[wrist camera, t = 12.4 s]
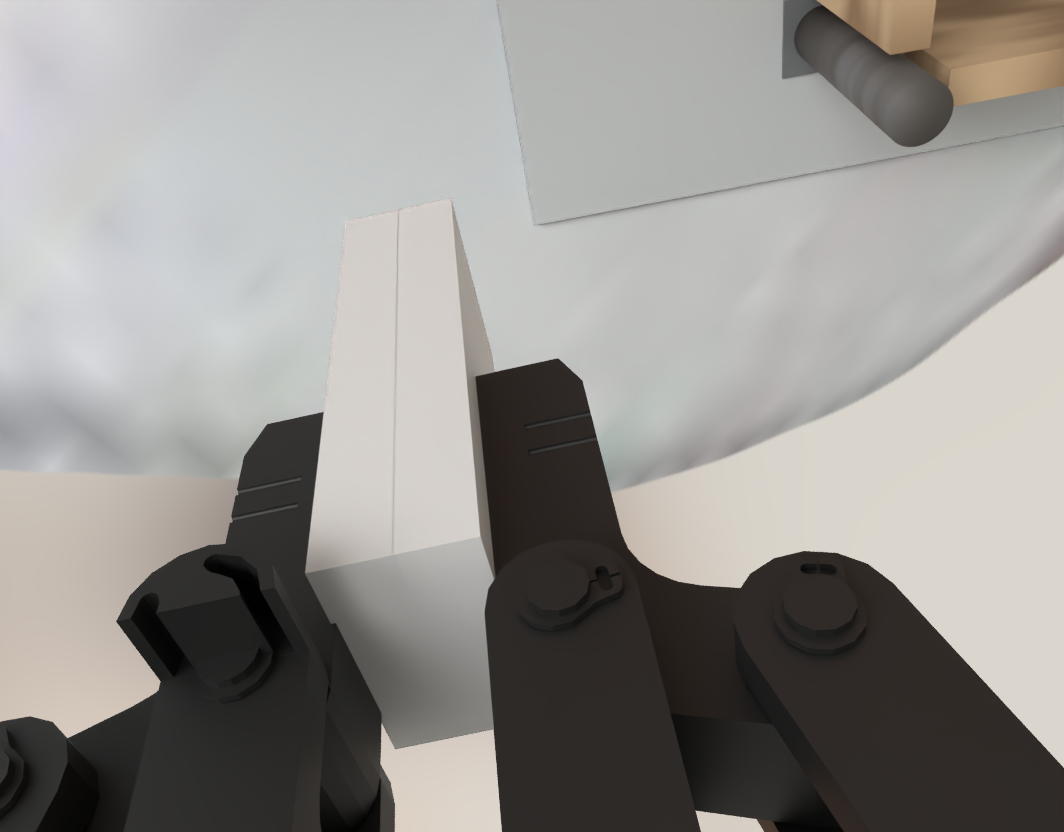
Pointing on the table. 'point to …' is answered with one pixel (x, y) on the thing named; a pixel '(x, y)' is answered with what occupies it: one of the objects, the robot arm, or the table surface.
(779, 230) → the table surface
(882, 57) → the fence panel fixed
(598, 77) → the board
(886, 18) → the fence panel hinged
